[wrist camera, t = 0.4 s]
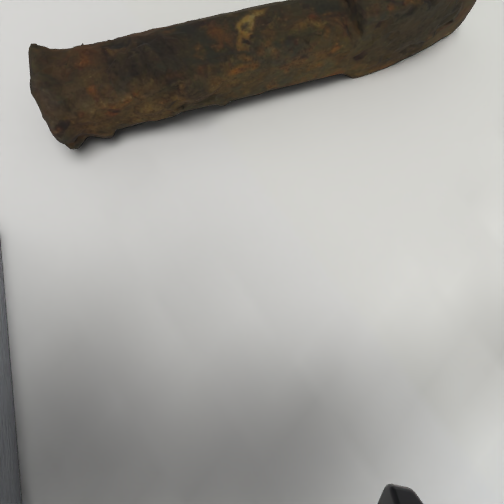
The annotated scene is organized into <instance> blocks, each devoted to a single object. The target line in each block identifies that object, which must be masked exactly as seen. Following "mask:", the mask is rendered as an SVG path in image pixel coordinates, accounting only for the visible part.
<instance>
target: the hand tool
mask: <svg viewBox="0 0 504 504" xmlns="http://www.w3.org/2000/svg"><path fill="white" fill-rule="evenodd" d="M475 2H476V0H287V1H283V2H274V3H269V4H264V5H259V6H255V7H250V8H245V9H242V10H238V11H235V12H229V13H223V14H218V15H215V16H210V17H206V18H202V19H197V20H192V21H187V22H185V23H180V24H175V25H171V26H167V27H162V28H156V29H151V30H148V31H144V32H141V33H134V34H130V35H127V36H123V37H118V38H117V39H114V40H108V41H103V42H97V43H94V44H89V45H83V43H82V45H81V46H75V47H74V48H70V49H49V48H47V47H44V46H39V45H37V44H31V45H30V47H29V67H30V77H31V79H30V89H31V94H32V95H33V97H34V99H35V100H36V102H37V104H38V106H39V109H40V111H41V113H42V117H43V119H44V120H45V121H46V122H47V124H48V126H49V129H50V131H51V133H52V134H53V136H54V137H55V138H56V139H57V140H58V141H59V142H60V143H63V144H65V145H66V146H68V147H69V148H70V149H78V148H79V147H80V146H81V145H82V143H83V142H84V141H85V139H86V138H87V137H90V136H95V137H101V138H112V137H113V136H114V134H115V131H116V130H118V129H121V128H125V127H129V126H133V125H136V124H139V123H142V122H147V121H156V120H161V119H165V118H168V117H174V116H176V115H177V114H179V113H181V112H185V111H189V110H193V109H198V108H201V107H206V106H211V105H219V106H223V105H226V104H227V103H229V102H230V101H233V100H237V99H241V98H244V97H248V96H253V95H259V94H261V93H264V92H266V91H270V90H274V89H278V88H282V87H286V86H291V85H295V84H299V83H303V82H308V81H312V80H316V79H320V78H325V77H328V76H332V75H336V74H345V75H346V76H349V77H351V78H358V77H361V76H365V75H368V74H371V73H373V72H376V71H378V70H381V69H384V68H386V67H388V66H391V65H393V64H395V63H397V62H399V61H401V60H403V59H405V58H407V57H409V56H411V55H413V54H415V53H417V52H419V51H421V50H423V49H425V48H427V47H429V46H431V45H432V44H434V43H435V42H437V41H438V40H440V39H442V38H443V37H445V36H447V35H449V34H451V33H452V32H453V31H454V30H456V29H457V28H458V27H459V26H460V24H461V23H462V22H463V21H464V19H465V18H466V16H467V15H468V13H469V12H470V10H471V9H472V7H473V5H474V4H475Z"/></svg>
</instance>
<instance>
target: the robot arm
mask: <svg viewBox="0 0 504 504" xmlns="http://www.w3.org/2000/svg"><path fill="white" fill-rule="evenodd" d="M378 504H423V503H422V501H421V500H420V499H419V497H418V496H417V494H416V493H415V492H414V491H413V490H412V489H410V488H408V487H403V486H399V485H394V484H388V485H387V486H385V488H384V490H383V492H382V495H381V497H380V499H379V502H378Z"/></svg>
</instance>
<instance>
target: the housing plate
mask: <svg viewBox="0 0 504 504" xmlns="http://www.w3.org/2000/svg"><path fill="white" fill-rule="evenodd" d="M0 504H22V500H21V488H20V476H19V464H18V451H17V439H16V427H15V415H14V403H13V390H12V378H11V366H10V354H9V342H8V329H7V317H6V305H5V293H4V280H3V268H2V256H1V244H0Z"/></svg>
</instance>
